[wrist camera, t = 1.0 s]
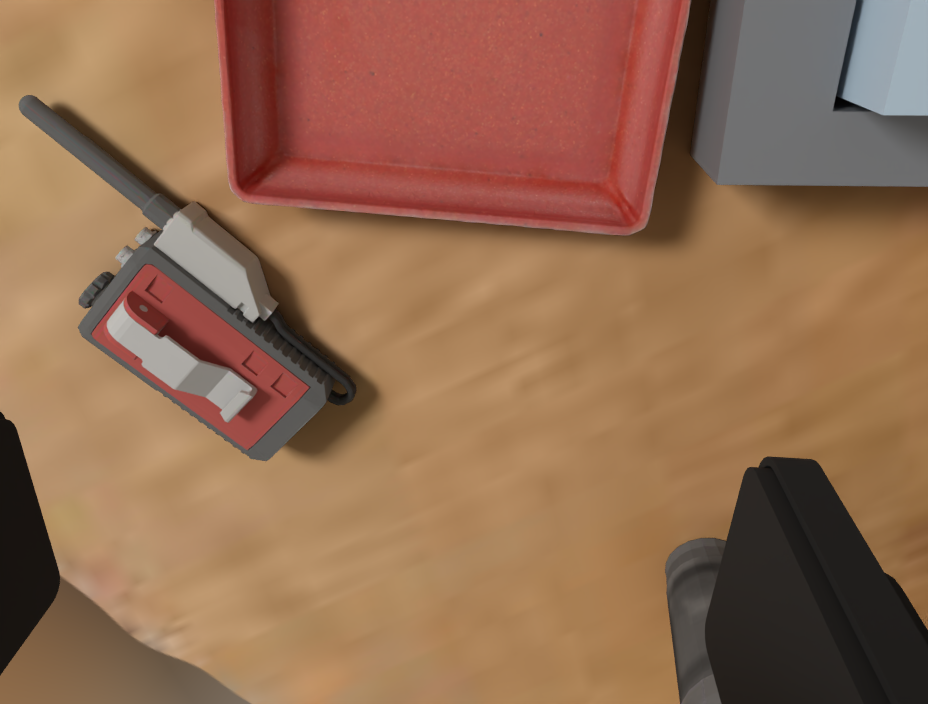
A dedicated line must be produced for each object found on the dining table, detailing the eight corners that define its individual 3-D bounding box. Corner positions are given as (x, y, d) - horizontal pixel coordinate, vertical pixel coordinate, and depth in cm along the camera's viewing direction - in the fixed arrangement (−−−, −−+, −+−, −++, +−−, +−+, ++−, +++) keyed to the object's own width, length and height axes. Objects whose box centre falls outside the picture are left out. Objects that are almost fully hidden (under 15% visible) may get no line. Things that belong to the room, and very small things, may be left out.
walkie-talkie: (388, 355, 39) (50, 75, 33) (374, 399, 35) (-12, 91, 29) (289, 451, 42) (-34, 212, 37) (266, 501, 38) (-100, 242, 33)
